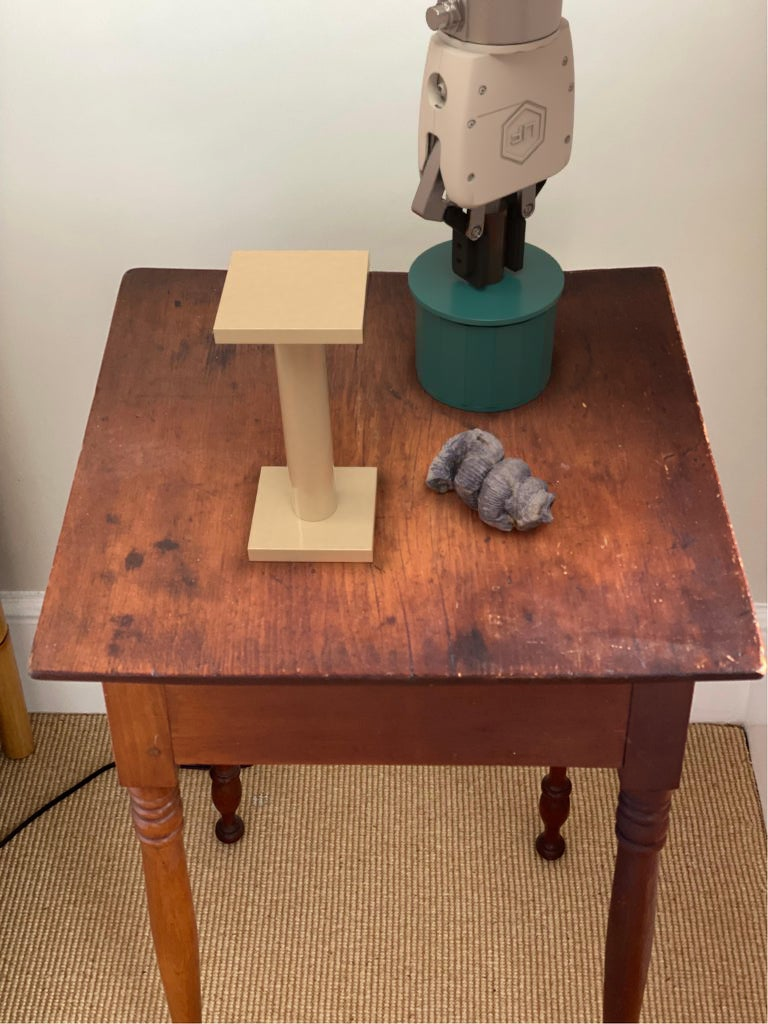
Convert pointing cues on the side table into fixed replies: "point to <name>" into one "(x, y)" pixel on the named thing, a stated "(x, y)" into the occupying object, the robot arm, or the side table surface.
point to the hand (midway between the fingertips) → (487, 269)
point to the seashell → (491, 482)
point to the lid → (505, 290)
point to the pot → (483, 360)
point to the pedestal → (303, 399)
